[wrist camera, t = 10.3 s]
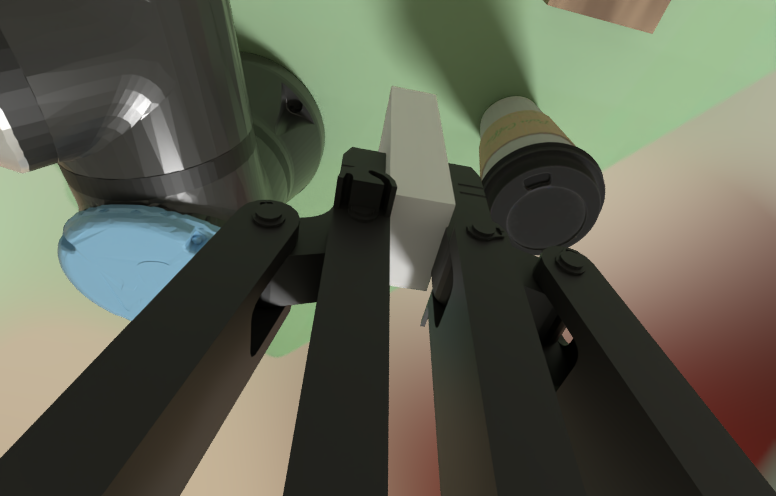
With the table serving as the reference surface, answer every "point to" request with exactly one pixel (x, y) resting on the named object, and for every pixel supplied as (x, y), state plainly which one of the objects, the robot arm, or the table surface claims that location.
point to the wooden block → (618, 11)
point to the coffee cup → (536, 177)
